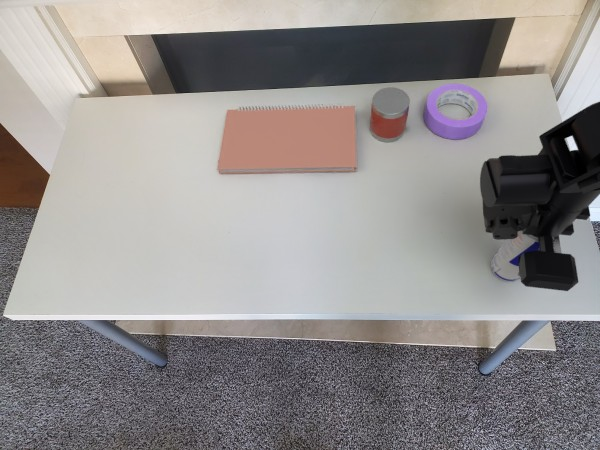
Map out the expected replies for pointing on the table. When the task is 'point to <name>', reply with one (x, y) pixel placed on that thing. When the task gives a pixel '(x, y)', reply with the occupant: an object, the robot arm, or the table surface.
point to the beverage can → (513, 255)
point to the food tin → (389, 114)
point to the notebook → (289, 140)
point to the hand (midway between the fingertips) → (519, 249)
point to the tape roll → (451, 126)
